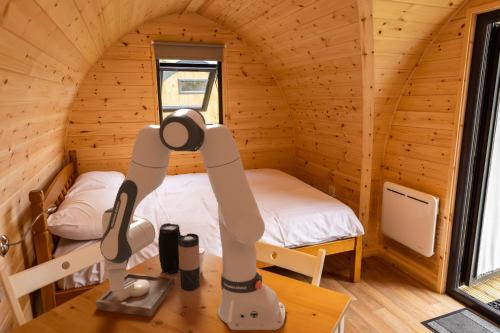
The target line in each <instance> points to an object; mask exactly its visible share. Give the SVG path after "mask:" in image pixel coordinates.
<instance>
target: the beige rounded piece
mask: <svg viewBox="0 0 500 333" xmlns="http://www.w3.org/2000/svg"><path fill="white" fill-rule="evenodd" d="M149 290H150V287H149V282H148V281H146V280H135V281H132V282H130V283H128V284H126V285H124V289H123V291H120V292H117V293H118V300H120V301H122V300H124V299H126V298H128V297H130V296H131V297H138V296H142V295H144V294H146V293H148V292H149Z"/></svg>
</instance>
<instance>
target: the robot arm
mask: <svg viewBox="0 0 500 333" xmlns="http://www.w3.org/2000/svg"><path fill="white" fill-rule="evenodd" d="M133 143H134V144H133V147H132V151H131V158H130V163H129V166H128V170H127V173H126V175H125V177H124V179H123V181H122V182H121V184H120V185H119V188H118V190H117V193H116V195H115V200H114V203H113V207H111V208H108V209H106V210H105V211H103V214H102V218H101V233H102V236H101V239H100V244H99V245H100V246H99V248H100V252H101V255H102V257H103V260H104V261H105V265H104V266H105V270H106V271H107V274H108V275H107V276H108V280H109V286H110V287H109V289H110V288H111V291H112V292H120V291H123V289H124V279H125V274H126V268H127V267H128V264H129V261H130V259H131V258H132V256H133V255H135V254H137V253H138V252H140V251H141V250H144V249H145V248H147V247H148V246H150V245H151V244H152V243H153V242H154V240H155V239H156V229H155V227H154V224H153V223H152V222H151V221H150V220H148V219H146V218H142V217H139V216H137V215H135V211H136V209H137V207H138V206H139V204H140V203H141V202H142V201H143V200H145V198H146V197H147V196H149V195H150V194H151V193H153V192H154V191H156V190H157V189H158V188H160V186H161V185H162V184H163V182H164V180H165V178H166V176H167V174H168V168H169V163H170V157H171V153H172V151H174V152H193V153H194V152H195V153H196V152H199V153H200V155H201V157H202V160H203V164H204V167H205V171H206V173H207V177H208V180H209V183H210V186H211V187H210V188H211V189H212V193H213V194H214V197H215V199H216V202H217V203H218V204H217V214H218V216H217V217H218V226H219V227H218V228H219V236H220V243H221V251H222V253H221V254H222V258H221V259H222V272H221V274H220V275H221V277H220V285H221V290H222V291H221V298H220V299H221V300H220V303H219V307H218V311H217V312H218V313H217V314H218V317H219V319H220V320H221V321H222V322H224V323H225V324H227V326H228V328H229V329H230V330H231V331H278V330H280V329H281V328H282V327H283V325H284V324H285V320H286V307H285V305H284V304H283V303H282V302H281V301H279V298H278V294H277V293H276V291H275V290H273V289H272V288H271V287H269V286H267V285H266V284H265V283H263V272H261V273H258V272H257V249H256V246H255V245H256V244H255V243H257V242H259V241H260V240H261V239H262V237H263V235H264V233H265V230H266V229H265V228H266V226H265V225H266V224H265V222H264V219H263V216H262V215H261V211H260V209H259V206H258V204H257V202H256V198H255V196H254V194H253V192H252V189H251V187H250V184H249V182H248V178H247V175H246V173H245V168H244V164H243V161H242V158H241V155H240V151H239V149H238V148H239V147H238V145H237V143H236V140H235V139H234V137H233V134H232V132H231V130H230V128H228V127H227V126H226V125H224V124H220V123H219V124H217V123H216V124H210V125H207V124H206V119H205V117H204V115H203V114H202V112H200V110H197V109H196V108H192V107H183V108H181V109H176V110H174V111H172V112H171V113H170V114H168V115H167V116H166V117H164V119H163V120H162V121H161V123H160V125H157V124H148V125H144V126H142V127H141V128H140V129H139V130H138V133H137V135H136V137H135V140H134V142H133ZM277 329H278V330H277Z"/></svg>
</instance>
